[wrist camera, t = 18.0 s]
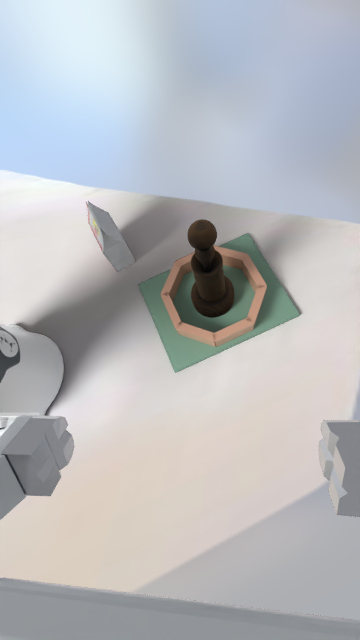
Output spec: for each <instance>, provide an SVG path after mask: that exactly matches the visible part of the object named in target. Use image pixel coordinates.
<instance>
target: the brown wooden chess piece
mask: <svg viewBox="0 0 360 640" xmlns="http://www.w3.org/2000/svg"><path fill="white" fill-rule="evenodd" d="M216 238H217V232H216V228H215V227H214V225H213V224H212V223H211V222H209V221H207V220H198V221H195V222H194V223H193V224H192V225H191V226H190V228H189V230H188V241H189V243H190V245H191V246H192V247H193V248H195V253H194V255H193V256H192V258H191V268H192V271H193V274H194V278H195V281H196V282H195V283H194V284H193V286H192V289H191V299H192V302H193V305H194V307H195V309H196V310H197V312H198V313H200V314H201V315H203V316H205V317H209V318H215V317H220V316H222V315H224V314H226V313H227V312H228V311H229V310H230V309H231V307H232V305H233V303H234V287H233V284H232V282H231V281H230V280H229V278H227V277H226V276H225V275H224V270H223V259H222V256H221V254H220V253H219V252H218V251H216V250H215V248H214V246H213V244H214V243H215V241H216Z"/></svg>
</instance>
